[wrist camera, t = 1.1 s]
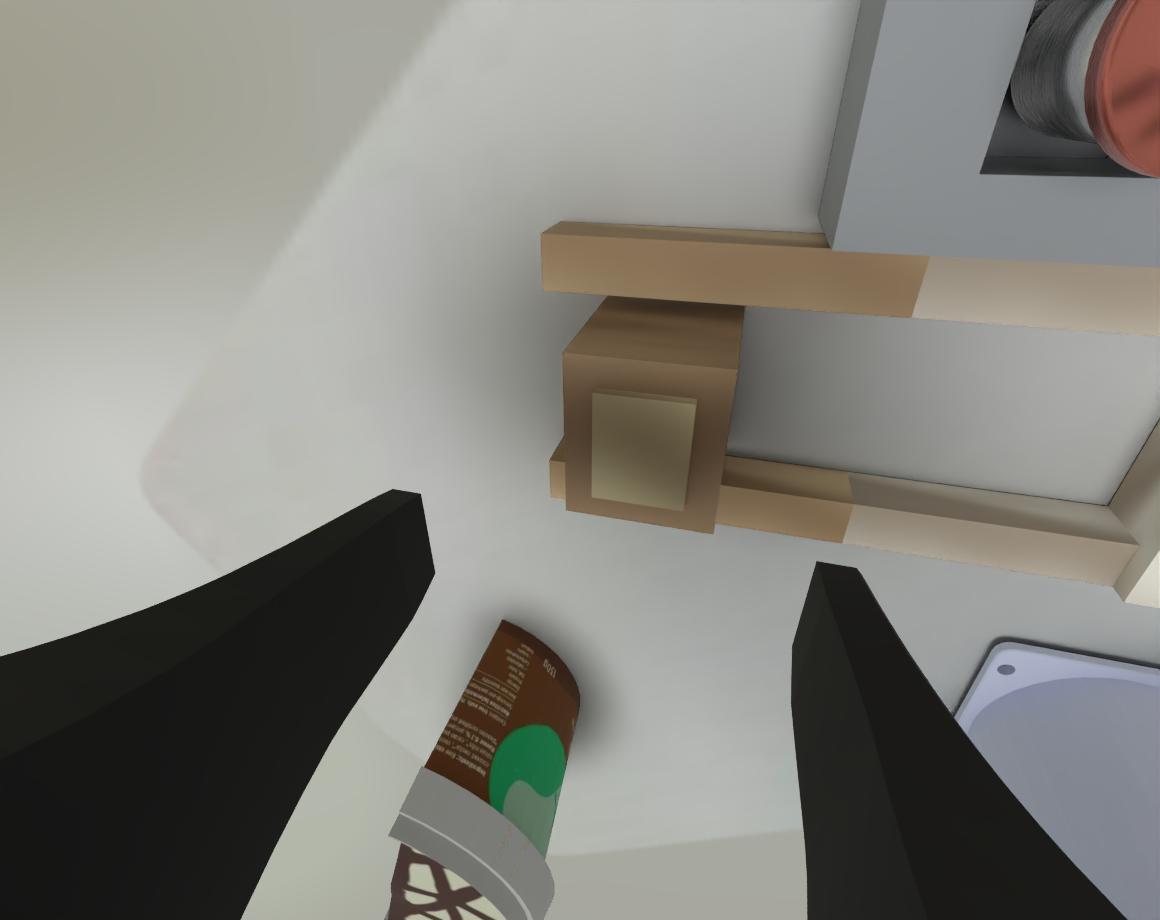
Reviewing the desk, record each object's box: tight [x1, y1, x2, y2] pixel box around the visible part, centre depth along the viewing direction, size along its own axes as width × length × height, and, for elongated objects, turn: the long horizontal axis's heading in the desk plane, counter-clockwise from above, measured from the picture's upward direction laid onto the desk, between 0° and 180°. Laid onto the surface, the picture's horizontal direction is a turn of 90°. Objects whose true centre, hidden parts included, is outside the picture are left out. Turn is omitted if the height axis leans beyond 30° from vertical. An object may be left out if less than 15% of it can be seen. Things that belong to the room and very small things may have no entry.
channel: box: [541, 222, 1160, 608], centre depth 16 cm, size 9×18×2 cm, turn 90°
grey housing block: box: [818, 0, 1160, 268], centre depth 11 cm, size 6×8×4 cm
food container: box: [384, 620, 580, 920], centre depth 25 cm, size 12×6×10 cm, turn 165°
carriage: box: [563, 295, 745, 534], centre depth 16 cm, size 5×4×5 cm
